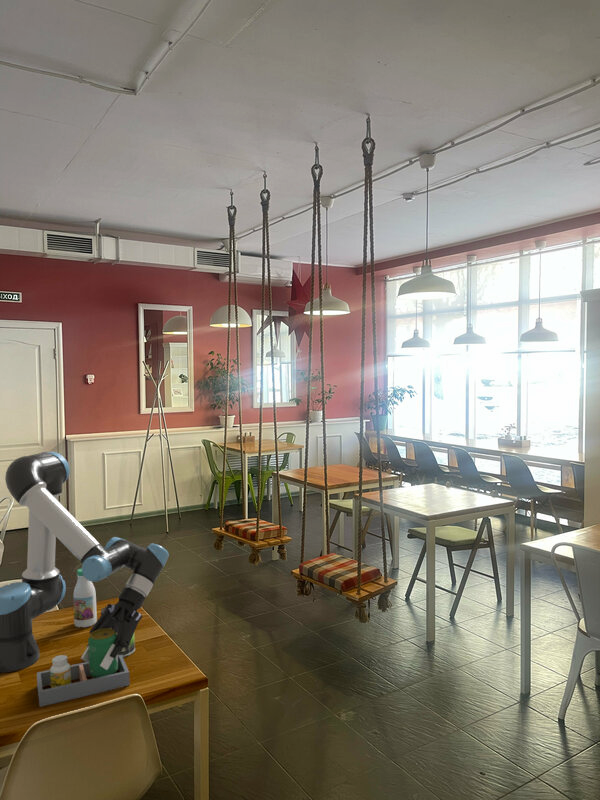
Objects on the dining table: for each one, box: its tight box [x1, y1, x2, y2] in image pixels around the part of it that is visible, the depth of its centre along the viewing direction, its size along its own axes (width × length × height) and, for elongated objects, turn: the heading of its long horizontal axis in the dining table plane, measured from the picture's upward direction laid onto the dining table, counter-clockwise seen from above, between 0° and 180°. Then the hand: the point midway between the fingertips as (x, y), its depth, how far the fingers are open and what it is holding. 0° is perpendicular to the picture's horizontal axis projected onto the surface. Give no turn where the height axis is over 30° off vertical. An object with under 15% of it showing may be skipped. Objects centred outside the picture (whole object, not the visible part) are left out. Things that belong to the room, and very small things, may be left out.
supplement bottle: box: [49, 654, 72, 688], centre depth 174 cm, size 5×5×10 cm
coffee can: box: [100, 603, 136, 658], centre depth 199 cm, size 10×10×14 cm
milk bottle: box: [72, 567, 98, 628], centre depth 222 cm, size 8×8×20 cm
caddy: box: [36, 655, 131, 708], centre depth 177 cm, size 12×24×4 cm, turn 116°
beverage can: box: [87, 628, 119, 679], centre depth 179 cm, size 8×8×12 cm
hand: (93, 664), depth 177 cm, fingers closed on beverage can, 8 cm apart
